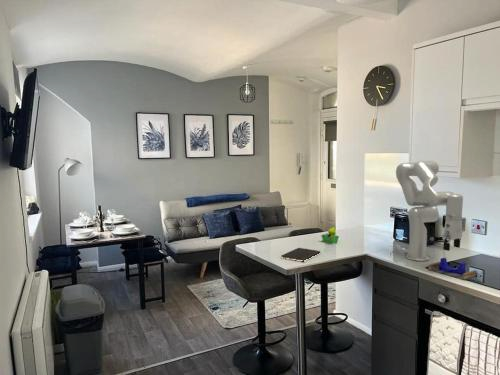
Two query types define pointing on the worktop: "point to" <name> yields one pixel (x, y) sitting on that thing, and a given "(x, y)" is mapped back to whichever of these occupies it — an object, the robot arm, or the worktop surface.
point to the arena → (465, 276)
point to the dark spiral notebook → (300, 254)
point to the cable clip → (447, 268)
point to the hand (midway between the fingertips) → (451, 248)
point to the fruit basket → (330, 236)
